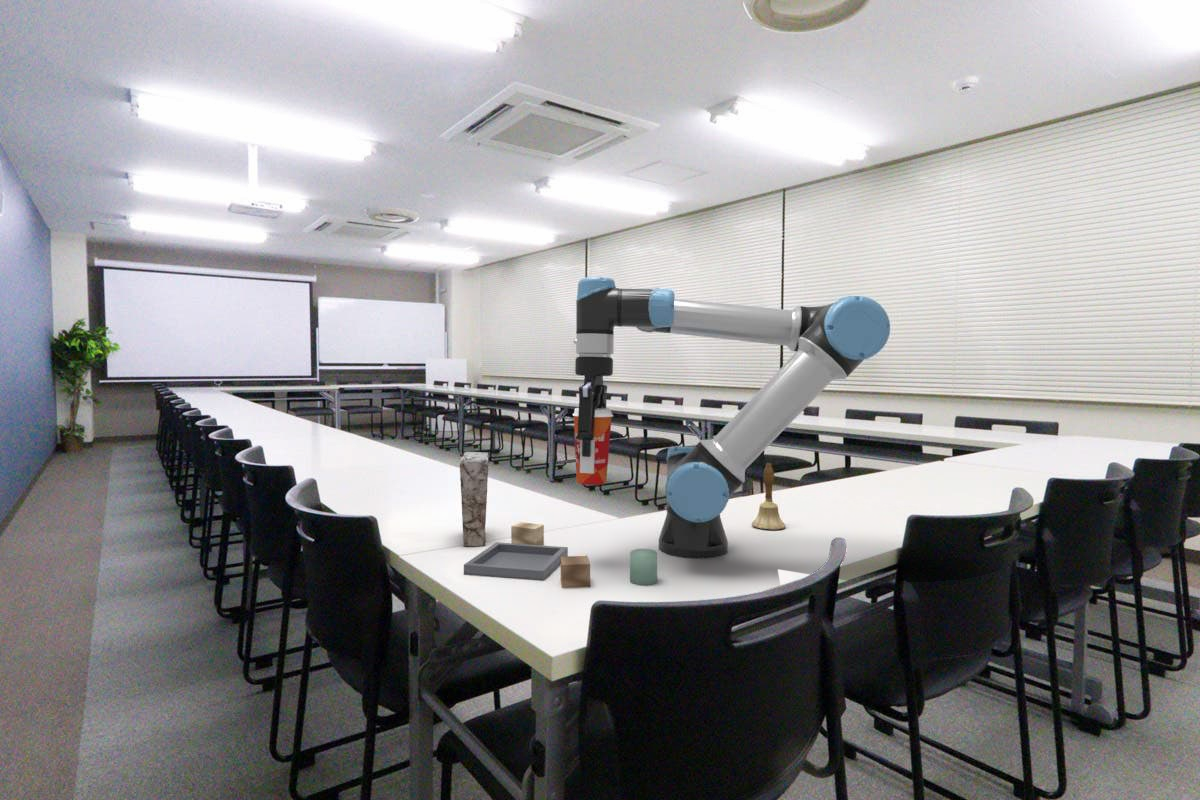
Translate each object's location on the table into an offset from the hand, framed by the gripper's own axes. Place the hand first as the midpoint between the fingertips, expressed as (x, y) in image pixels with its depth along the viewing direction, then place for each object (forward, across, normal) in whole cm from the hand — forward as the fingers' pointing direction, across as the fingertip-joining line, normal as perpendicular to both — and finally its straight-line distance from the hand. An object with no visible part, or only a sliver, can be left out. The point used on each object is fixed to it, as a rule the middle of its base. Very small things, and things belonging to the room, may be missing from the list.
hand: (591, 469), depth 127 cm
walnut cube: (+20, +13, +1) cm, 24 cm away
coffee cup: (+3, 0, 0) cm, 3 cm away
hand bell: (+19, -42, +36) cm, 59 cm away
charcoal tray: (+20, +6, -13) cm, 24 cm away
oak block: (+20, -8, -16) cm, 27 cm away
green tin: (+19, +9, +13) cm, 25 cm away
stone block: (+20, -11, -30) cm, 38 cm away
